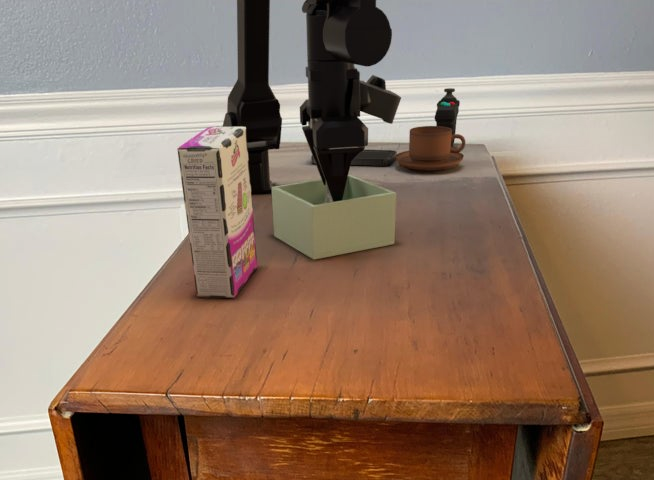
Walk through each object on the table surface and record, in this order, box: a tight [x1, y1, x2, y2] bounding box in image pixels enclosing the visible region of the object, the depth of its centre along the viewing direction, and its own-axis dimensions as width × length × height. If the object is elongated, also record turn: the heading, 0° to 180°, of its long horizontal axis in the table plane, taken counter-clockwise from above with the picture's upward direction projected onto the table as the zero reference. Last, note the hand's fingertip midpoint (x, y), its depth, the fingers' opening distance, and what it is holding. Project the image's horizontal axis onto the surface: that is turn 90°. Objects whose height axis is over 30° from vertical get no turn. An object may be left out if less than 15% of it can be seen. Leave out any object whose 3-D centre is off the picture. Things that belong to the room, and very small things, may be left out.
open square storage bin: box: [271, 174, 397, 261], centre depth 107 cm, size 12×12×7 cm
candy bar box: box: [176, 125, 258, 299], centre depth 91 cm, size 11×5×16 cm, turn 168°
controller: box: [434, 87, 461, 148], centre depth 151 cm, size 4×12×10 cm, turn 167°
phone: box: [310, 149, 398, 167], centre depth 148 cm, size 8×1×15 cm
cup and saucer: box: [395, 125, 466, 172], centre depth 140 cm, size 12×12×6 cm
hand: (332, 193), depth 105 cm, fingers open, 9 cm apart
